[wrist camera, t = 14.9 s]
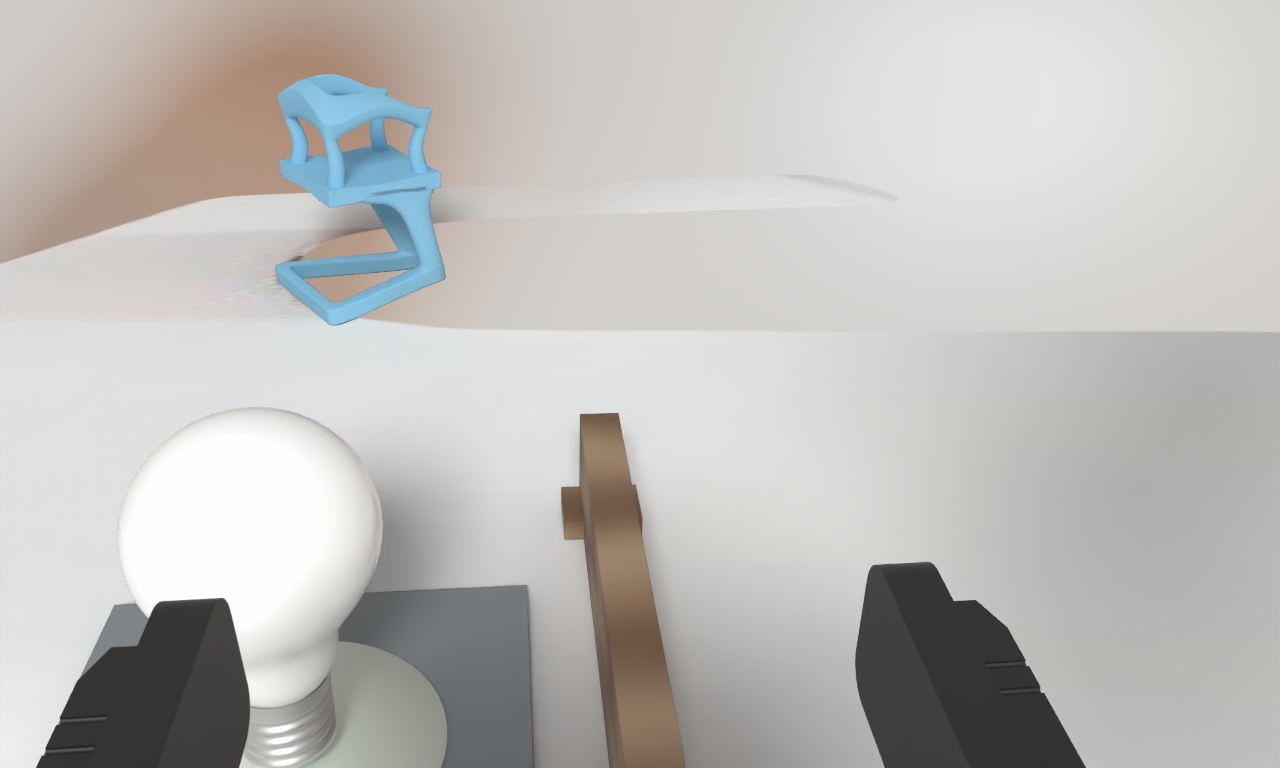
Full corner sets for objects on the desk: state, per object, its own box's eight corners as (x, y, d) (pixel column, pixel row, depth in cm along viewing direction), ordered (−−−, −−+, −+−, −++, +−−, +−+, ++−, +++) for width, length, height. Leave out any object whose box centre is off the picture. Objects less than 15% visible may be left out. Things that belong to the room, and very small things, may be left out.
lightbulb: (123, 789, 30) (29, 454, 25) (280, 647, 35) (230, 344, 30) (306, 878, 28) (245, 530, 22) (445, 713, 33) (423, 398, 27)
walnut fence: (561, 499, 44) (560, 414, 42) (634, 496, 44) (637, 412, 42) (626, 1250, 21) (632, 1141, 19) (774, 1233, 22) (794, 1123, 20)
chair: (467, 293, 62) (459, 81, 56) (330, 327, 57) (306, 100, 52) (404, 251, 67) (390, 54, 62) (274, 279, 63) (246, 69, 57)
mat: (117, 616, 37) (113, 601, 37) (527, 596, 39) (526, 581, 38) (-71, 1021, 25) (-78, 1004, 25) (539, 967, 26) (539, 951, 26)
